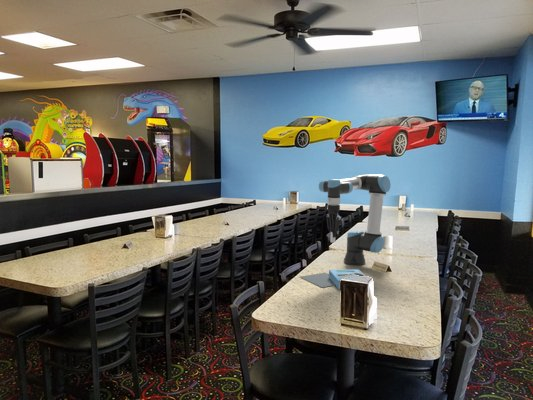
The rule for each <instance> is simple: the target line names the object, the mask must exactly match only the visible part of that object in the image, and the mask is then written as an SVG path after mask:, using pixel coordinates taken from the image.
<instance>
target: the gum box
mask: <svg viewBox="0 0 533 400" xmlns="http://www.w3.org/2000/svg"><path fill="white" fill-rule="evenodd" d="M328 274H329V278H330V279H331V280H332V281H333V283H334V284H335V285H336V288H337V289H338V290H339V291H341V290H340V280H341V279H342V278H343V277H344V276H345V275H359V276H366V275H365V274H364V273H363V272H362V271H361V270H360V269H328Z"/></svg>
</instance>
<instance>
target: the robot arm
mask: <svg viewBox="0 0 533 400" xmlns="http://www.w3.org/2000/svg"><path fill="white" fill-rule="evenodd" d="M318 189H319V191H320V192H321V193H327V207H326V209H327V211H328V212H327V214H325V219H326V225H327V230H328V231H329V233H330V234H329V236H330V243H336V236H337V232H339V230H340V224H341V220H342V216H340V209H341V205H340V204H341V195H345V194H346V195H348V194H351V193H352V191H353V190H356V191H358V190H360V191H361V190H362V191H368V194H369V195H370V200H369V209H368V218H367V228H366V230H365V231H363V230H353V231H352V230H351V231H348V232H347V236H346V252H345V255H344V258H343V263H344V264H347V265H352V266H363V265H365V264H366V259H365V255H364V251H365V252H370V253H375V254H377V253H380V252H381V251H382V250H383V248H384V246H385V239H384V237H383V235H382V232H381V224H382V214H383V204H384V197H385V196H387V193H388V192H389V191H390V190H391V180H390V179H389V176H387V175H385V174H373V173H371V174H370V173H365V174H361V175H354V176H352V177H351V178H341V179H338V178H337V179H336V178H333V179H332V178H331V179H328V180H320V181H319V184H318Z"/></svg>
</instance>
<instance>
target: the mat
mask: <svg viewBox="0 0 533 400" xmlns="http://www.w3.org/2000/svg"><path fill="white" fill-rule="evenodd" d="M299 278H300V279H302V280H304V281H306V282H309V283H311V284H312V285H315V286H317V287H319V288H322V289H325V288H330V287H335V286H334V285H335V284H334V283H333V281H332V280H331V279H330V278H329V273H327V272H321V273H320V272H319V273H315V274H307V275H303V276H302V275H301V276H299Z"/></svg>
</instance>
